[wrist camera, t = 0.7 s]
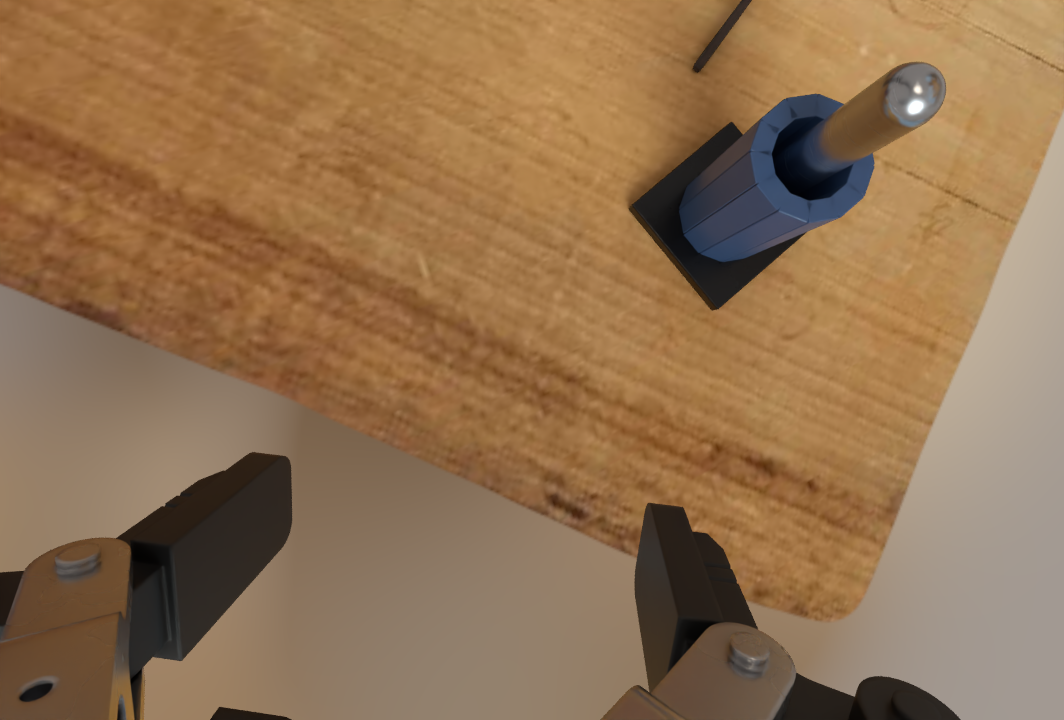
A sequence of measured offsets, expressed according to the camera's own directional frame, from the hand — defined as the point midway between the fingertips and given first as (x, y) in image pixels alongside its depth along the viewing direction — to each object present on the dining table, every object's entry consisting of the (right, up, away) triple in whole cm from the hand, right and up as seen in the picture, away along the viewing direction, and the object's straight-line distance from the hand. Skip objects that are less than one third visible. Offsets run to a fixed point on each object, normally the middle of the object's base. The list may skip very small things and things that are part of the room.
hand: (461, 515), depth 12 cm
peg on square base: (+14, +13, +26) cm, 32 cm away
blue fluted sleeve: (+14, +13, +25) cm, 31 cm away
